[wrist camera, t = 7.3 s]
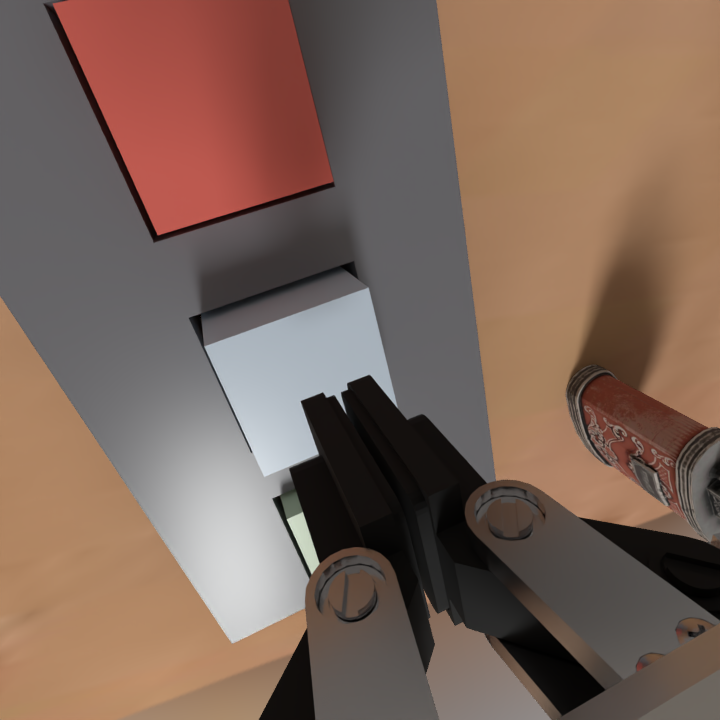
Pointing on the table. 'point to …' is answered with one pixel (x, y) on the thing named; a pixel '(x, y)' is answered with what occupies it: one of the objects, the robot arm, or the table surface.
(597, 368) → the lighter
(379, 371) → the bluegrey button
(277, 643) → the table surface
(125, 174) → the button panel
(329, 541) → the robot arm
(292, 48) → the red button
